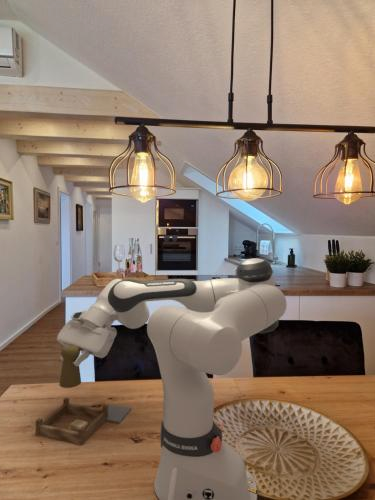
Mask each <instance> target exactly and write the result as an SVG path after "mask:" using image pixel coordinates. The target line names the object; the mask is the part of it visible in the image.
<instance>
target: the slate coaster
mask: <svg viewBox="0 0 375 500" xmlns="http://www.w3.org/2000/svg"><path fill="white" fill-rule="evenodd" d="M107 405H108V417H107V418H105V421H104V422H109V423H115V424H119V425H120V424H121V423H122V422H123V420H124V419H125V418H126V416H127V415H128V414H129V413H130V412H131V411H132V407H129V406H128V407H127V406H123V405H122V406H121V405H116V404H110V403H108V404H107ZM97 417H98V416H96V417H95V418H94V420H95V419H96V418H97Z"/></svg>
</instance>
